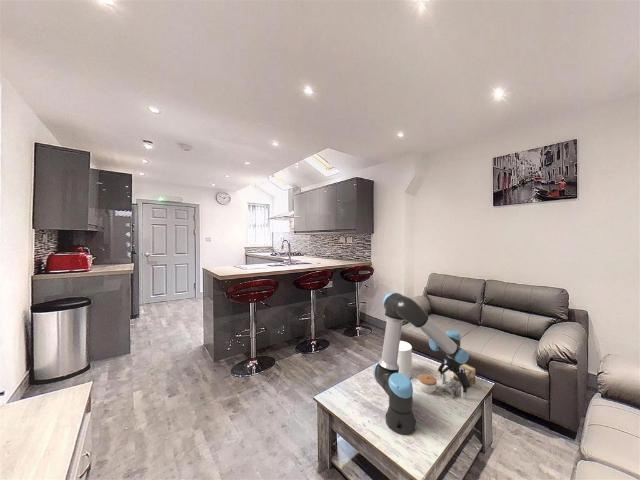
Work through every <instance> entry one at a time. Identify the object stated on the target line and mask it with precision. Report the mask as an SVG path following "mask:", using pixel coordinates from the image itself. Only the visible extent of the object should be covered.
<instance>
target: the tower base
mask: <svg viewBox="0 0 640 480" xmlns="http://www.w3.org/2000/svg"><path fill="white" fill-rule="evenodd" d="M452 379H453V380H456V381H460V380H459V379H458V378H457V377H455V376H453V377H452ZM468 381H469V384H470V387H471V386H473V385H476V376H475V377H473V378H470V379H468ZM461 385H462V384H461Z"/></svg>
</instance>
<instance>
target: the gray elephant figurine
mask: <svg viewBox="0 0 640 480" xmlns="http://www.w3.org/2000/svg"><path fill="white" fill-rule="evenodd" d="M444 383H445V384H444V387H443V388H442V391H443V392H448V393H450V396H451V397H452V399H454V398H455V395H456V396H460V393H459V388H461V386H462V385H461V382H460V381H456V380H453V377H450V381H449V382H448V381H446V380H445V382H444ZM454 393H455V394H454Z"/></svg>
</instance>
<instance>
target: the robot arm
mask: <svg viewBox="0 0 640 480" xmlns="http://www.w3.org/2000/svg"><path fill="white" fill-rule="evenodd" d="M382 305H383V307H384V309H385V310H384V316H385V317H386V325H385V331H384V338H383V346H382V353H381V359H379V360H378V362H377V363H376V364H375V365H374V367H373V377H374V380H375V382H376V383H377V384H378V385H379V386H380V388H382V389H383V391H384V393H386V394H387V395H388V407H387V411H386V413H385V424H386V426H387V427H388V428H389V429H390V430H391V431H392V432H394V433H396V434H398V435H411V434H413V433H414V432H415V431H416V429H417V420H416V418H415V414H414V411H413V403H414V401H413V395H414V394H413V393H414V387H413V383H412V380H411V378H410V379H409V378H408V377H407V376H405V375H402V374H401V373H398V372H399V365H398V364H397V359H398V351H399V344H400V341H401V338H402V337H401V335H402V330H403V329H402V327H403V322H404V321H406V322H408V323H410V324H411V325H413V326H414V328H417V329H419V330H420V331H422V332H423V333H424V334H425V335H426V336H427V337H428V338H429V340H428V346H429V347H430V349H431V351H433V352H438V351H440V353H443V354H444V355H445V356H446V358H444V359H442V360H441V363H440V366H439V367H438V369H437V372H439V373H440V379H441V385H442V386H443V385H444V386H445V385H446V384H445V383H444V382H445V381H446V372H447V371H450V372H452V373H455V374H456V375H457V377H458V379H459V380H460V382H461V384H462V386H461V387H460V388H461V393H460V394H461V398H465V397H466V396H467V395H466V393H467V392H468V391H467V390H468V389H469V388H471V386H470V384H469V381H468V379H467V376H466V374H465V369H461V368H460V366H461V365H463V364H467V362H468V361H469V358H470V356H469V353H468V352H467V350H465V349H464V348H462V347H461V334H460V332H458V331H456V330H450V329H449V330H447V331H446V333H445V332H444V331H443V330H442V329H441V328H440V327H439V326H438V325H437V324H436V323H435V322H434V321H433V320H432V319H431V318H430V315H429V314H428V312H426V311H425V309H423V307H422V306H420V305H419V304H418V303H417V302H416V301H415V300H414V299H413V298H410V297H408V296H405V295H403V294H401V292H399V293H398V292H396V291H392V292H389V293H387V294H386V295H385V296H384V297H383V301H382ZM445 366H446V367H445ZM444 367H445V368H444ZM457 372H458V373H457Z"/></svg>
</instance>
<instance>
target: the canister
mask: <svg viewBox="0 0 640 480" xmlns="http://www.w3.org/2000/svg"><path fill="white" fill-rule="evenodd" d="M412 351H413V347H412V345H411V343H409V342H407V341H403V340H400V344H399V351H398V359H397V364H398V365H399V372H398V373H401V374H402V375H405V376H407V377H408V378H409V379H410V380H411V378H412V374H413V373H412V371H413V370H412V369H413V368H412V367H413V364H412V363H413V361H412V360H413V358H412V357H413V356H412V353H413V352H412Z"/></svg>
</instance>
